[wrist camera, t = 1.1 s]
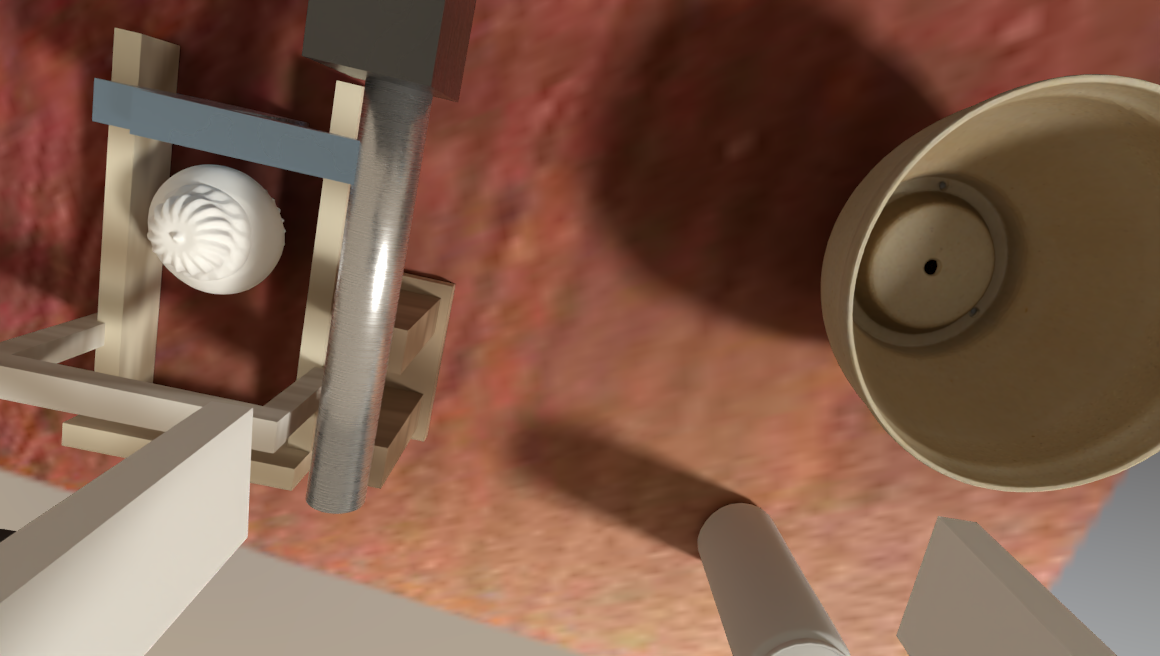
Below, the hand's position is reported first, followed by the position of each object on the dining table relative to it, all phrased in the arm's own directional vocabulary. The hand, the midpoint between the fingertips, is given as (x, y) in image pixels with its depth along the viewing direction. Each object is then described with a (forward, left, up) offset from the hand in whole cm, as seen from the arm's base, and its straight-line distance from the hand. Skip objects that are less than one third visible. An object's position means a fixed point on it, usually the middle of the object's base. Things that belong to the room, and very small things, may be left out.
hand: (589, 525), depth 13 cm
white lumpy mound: (0, -18, -24) cm, 30 cm away
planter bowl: (-6, +17, -24) cm, 30 cm away
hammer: (-1, -13, -23) cm, 27 cm away
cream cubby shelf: (+5, -9, -24) cm, 26 cm away
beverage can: (+12, +12, -24) cm, 30 cm away
